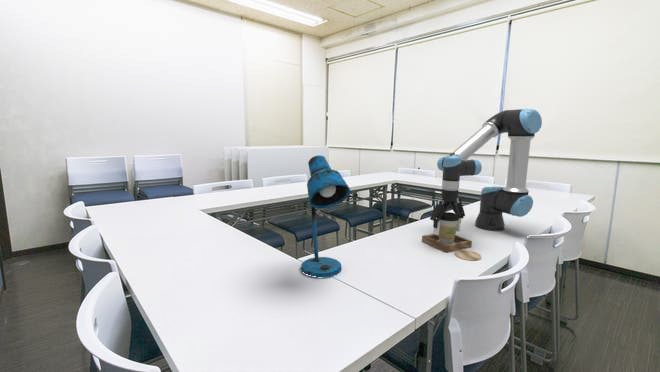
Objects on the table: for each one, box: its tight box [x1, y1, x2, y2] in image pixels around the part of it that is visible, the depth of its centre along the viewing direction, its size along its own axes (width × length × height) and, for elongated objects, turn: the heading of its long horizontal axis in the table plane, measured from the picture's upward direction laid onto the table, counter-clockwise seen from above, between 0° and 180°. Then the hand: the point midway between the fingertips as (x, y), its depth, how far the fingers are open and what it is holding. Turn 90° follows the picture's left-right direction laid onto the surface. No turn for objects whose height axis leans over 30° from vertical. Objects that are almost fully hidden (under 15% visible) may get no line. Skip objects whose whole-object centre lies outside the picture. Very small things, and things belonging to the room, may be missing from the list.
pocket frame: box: [421, 233, 473, 254], centre depth 155 cm, size 16×16×3 cm
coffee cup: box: [438, 211, 459, 245], centre depth 154 cm, size 10×10×15 cm
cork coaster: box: [454, 249, 482, 262], centre depth 142 cm, size 11×11×1 cm
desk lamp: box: [300, 155, 351, 278], centre depth 122 cm, size 16×22×45 cm
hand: (446, 232), depth 154 cm, fingers open, 13 cm apart
